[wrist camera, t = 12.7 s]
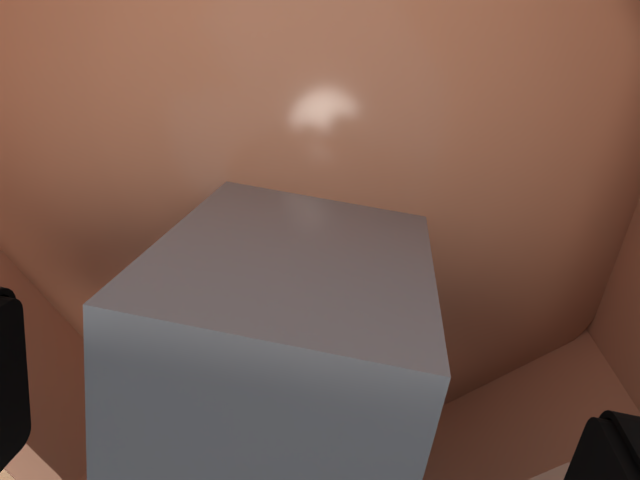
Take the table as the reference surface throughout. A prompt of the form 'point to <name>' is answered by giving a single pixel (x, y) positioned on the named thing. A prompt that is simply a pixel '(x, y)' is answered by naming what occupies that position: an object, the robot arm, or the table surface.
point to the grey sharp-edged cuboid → (268, 346)
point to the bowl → (344, 184)
